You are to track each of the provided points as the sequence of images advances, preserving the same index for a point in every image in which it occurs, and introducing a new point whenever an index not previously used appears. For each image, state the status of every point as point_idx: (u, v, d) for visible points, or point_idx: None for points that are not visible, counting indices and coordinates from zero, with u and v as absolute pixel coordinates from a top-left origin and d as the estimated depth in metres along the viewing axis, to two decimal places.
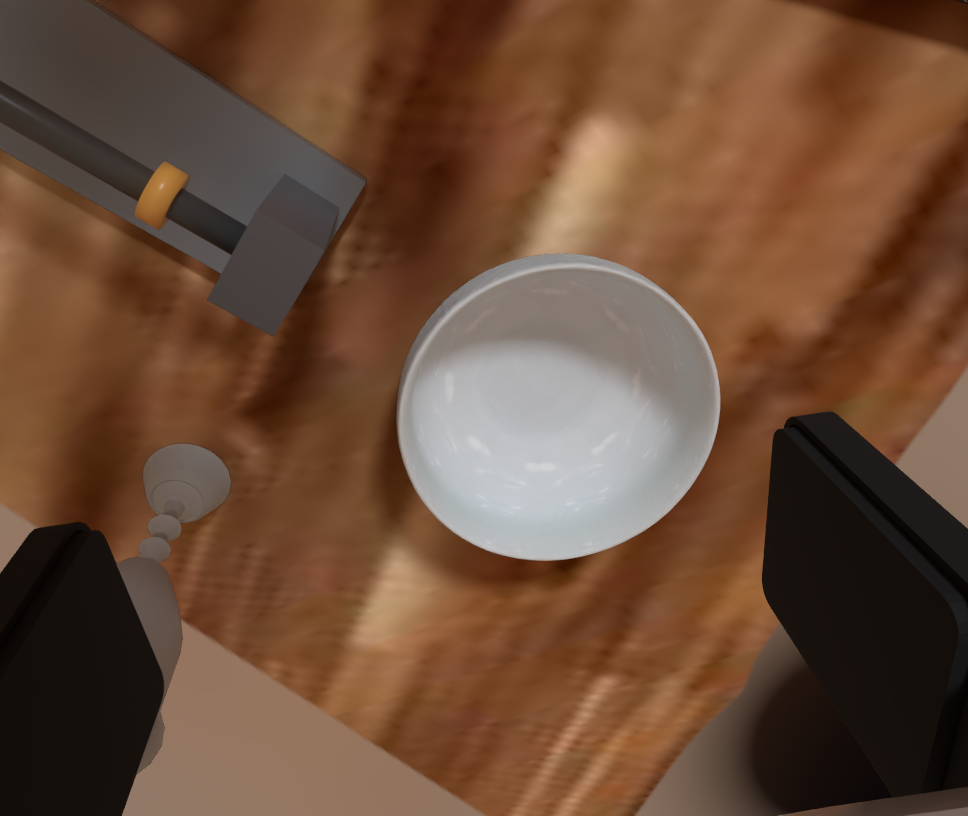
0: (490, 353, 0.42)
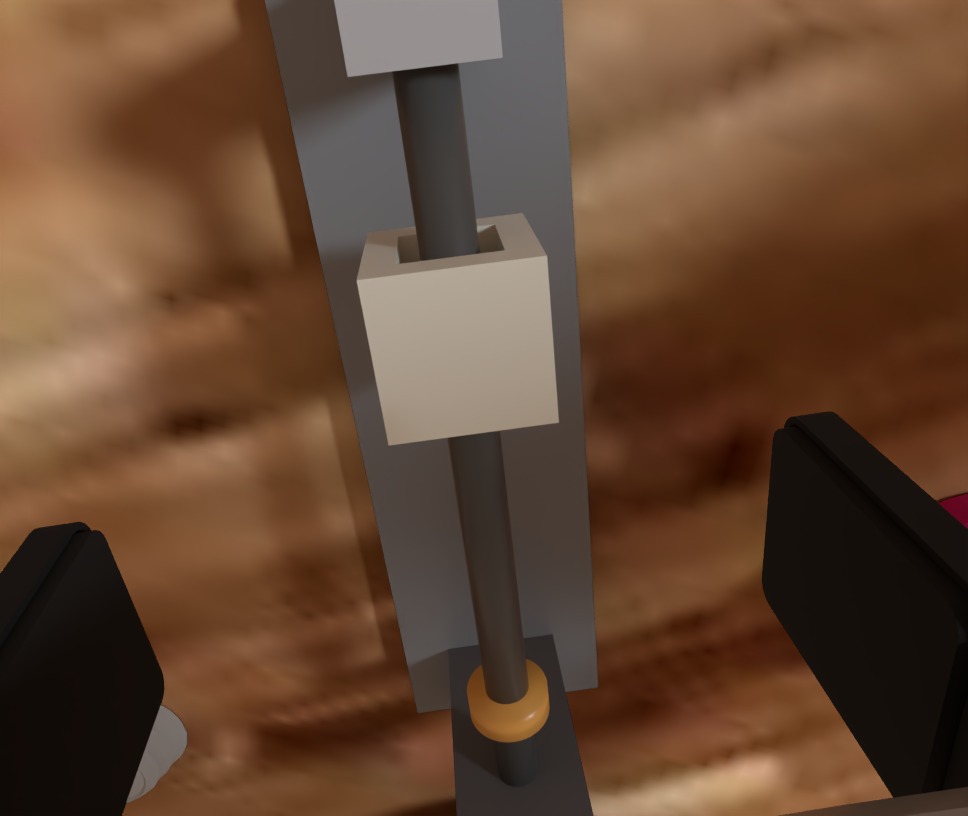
0: None
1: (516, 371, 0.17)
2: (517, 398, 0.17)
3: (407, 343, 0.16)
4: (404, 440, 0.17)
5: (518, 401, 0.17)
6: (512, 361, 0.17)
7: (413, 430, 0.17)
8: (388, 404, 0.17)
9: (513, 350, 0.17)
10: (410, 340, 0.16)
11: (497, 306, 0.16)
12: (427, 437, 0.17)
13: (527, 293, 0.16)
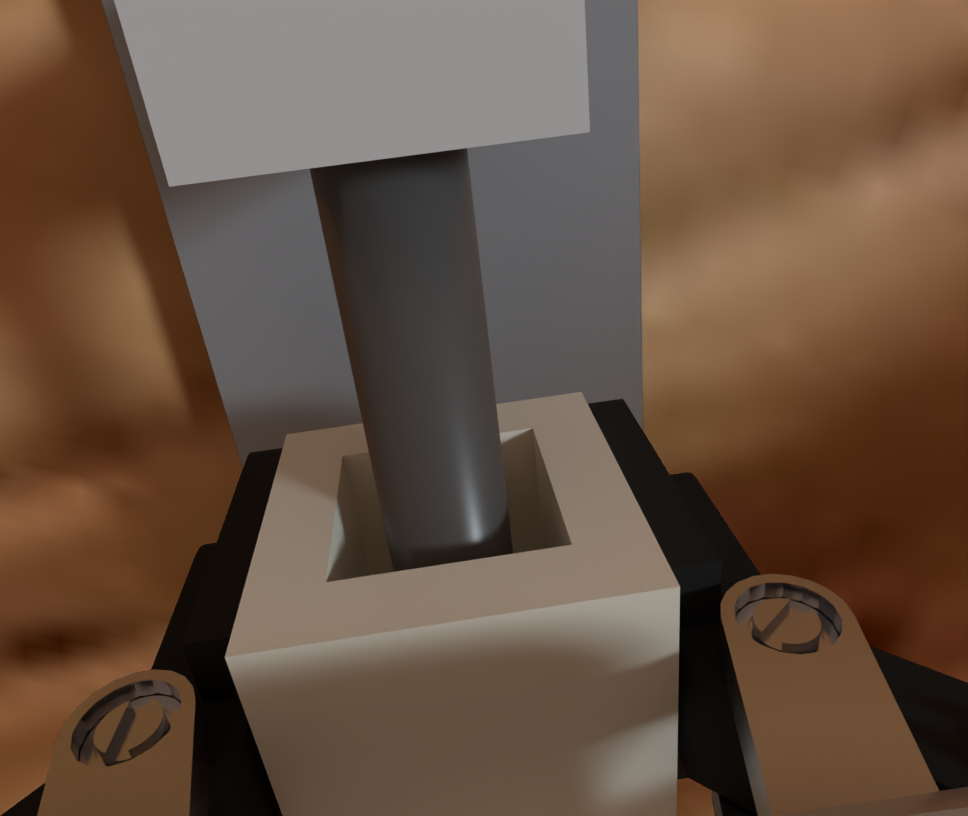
0: None
1: (594, 790, 0.08)
2: None
3: (353, 761, 0.07)
4: None
5: None
6: (586, 775, 0.08)
7: None
8: None
9: (590, 757, 0.07)
10: (360, 756, 0.07)
11: (559, 685, 0.07)
12: None
13: (628, 658, 0.07)
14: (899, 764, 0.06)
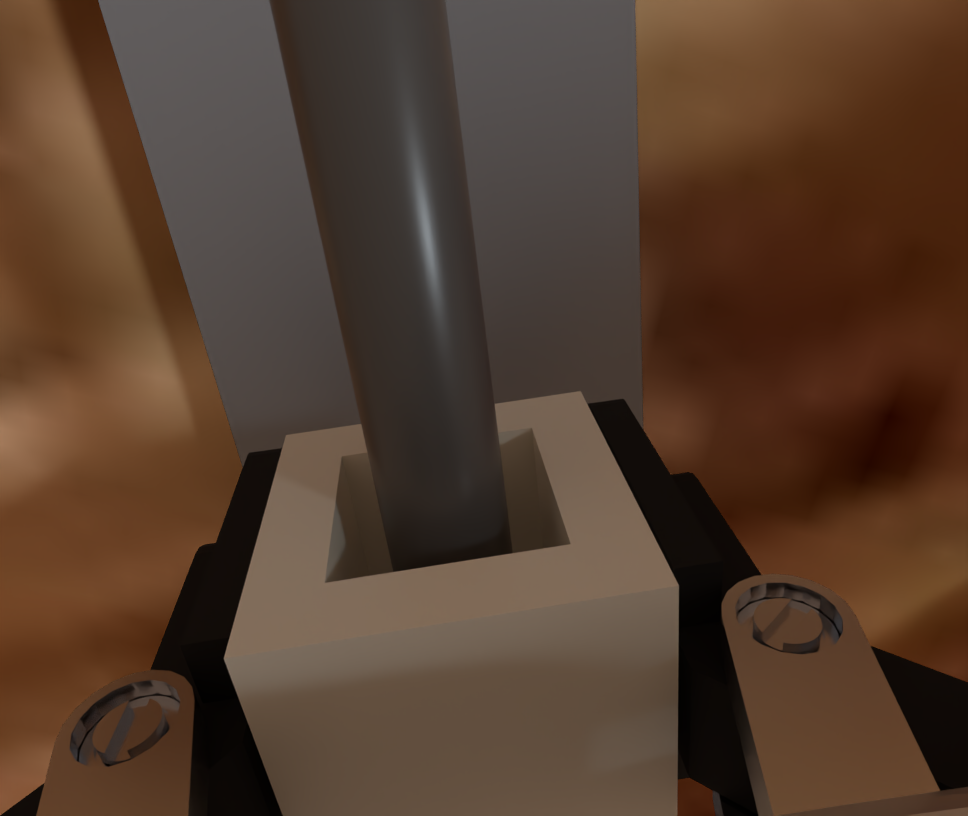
0: None
1: (594, 790, 0.08)
2: None
3: (353, 762, 0.07)
4: None
5: None
6: (587, 774, 0.08)
7: None
8: None
9: (590, 756, 0.07)
10: (360, 756, 0.07)
11: (558, 685, 0.07)
12: None
13: (628, 658, 0.07)
14: (900, 764, 0.06)
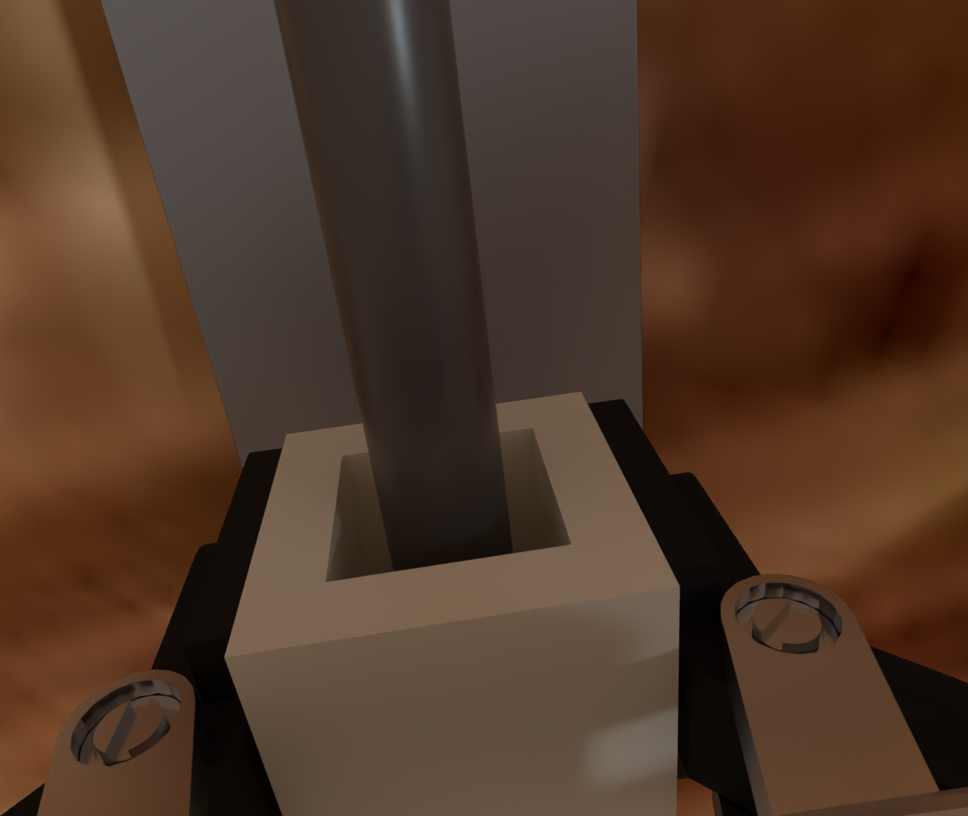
0: None
1: (594, 790, 0.08)
2: None
3: (353, 761, 0.07)
4: None
5: None
6: (586, 775, 0.08)
7: None
8: None
9: (590, 757, 0.07)
10: (360, 756, 0.07)
11: (559, 685, 0.07)
12: None
13: (628, 659, 0.07)
14: (899, 764, 0.06)
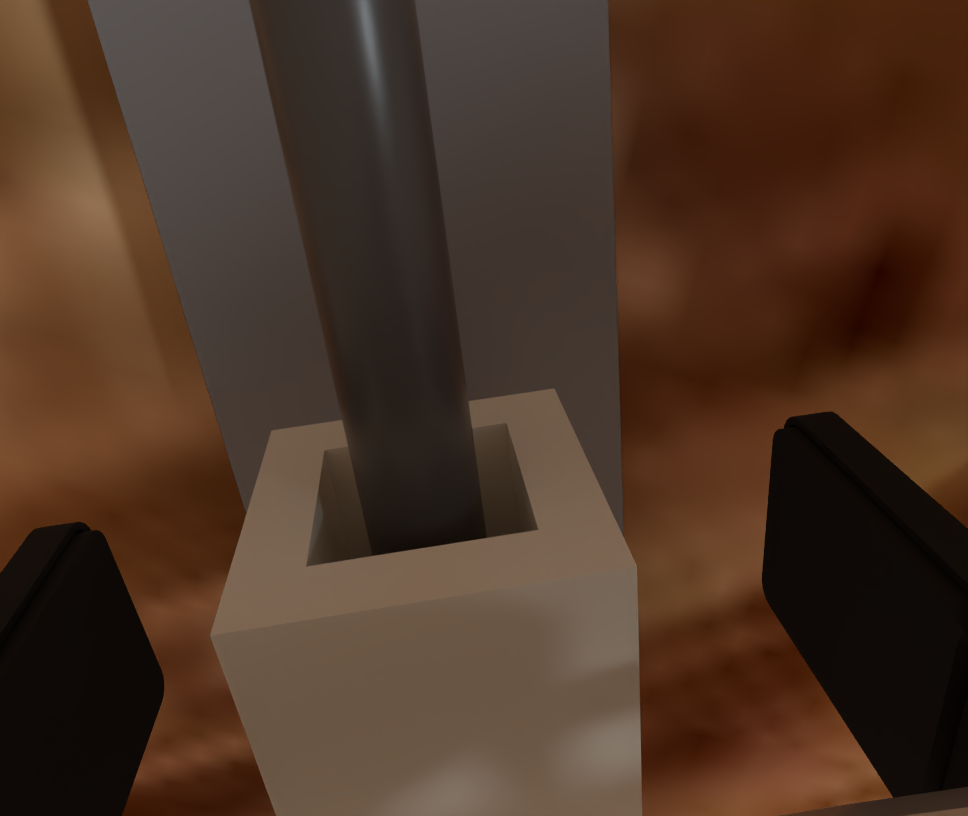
0: None
1: (562, 763, 0.08)
2: (563, 804, 0.08)
3: (333, 736, 0.08)
4: None
5: (564, 808, 0.08)
6: (555, 748, 0.08)
7: None
8: None
9: (557, 731, 0.08)
10: (339, 730, 0.08)
11: (526, 661, 0.07)
12: None
13: (591, 636, 0.07)
14: None
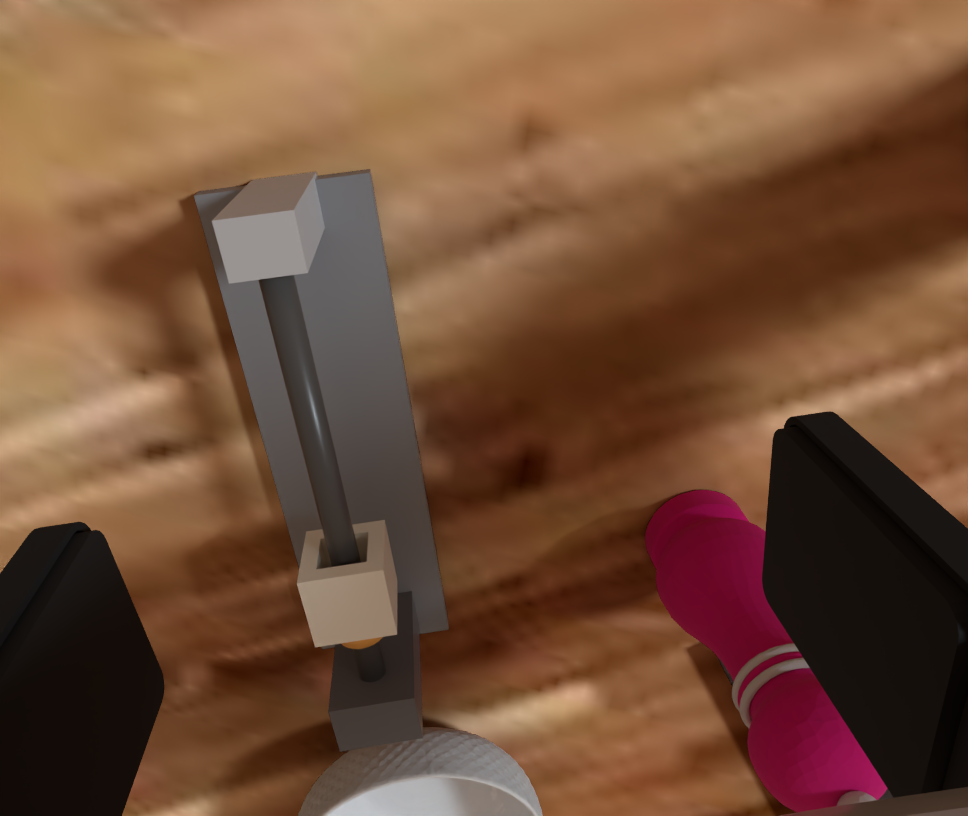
0: None
1: (374, 614, 0.36)
2: (375, 625, 0.36)
3: (321, 606, 0.35)
4: (322, 644, 0.36)
5: (376, 626, 0.36)
6: (371, 611, 0.36)
7: (326, 640, 0.36)
8: (314, 630, 0.36)
9: (371, 606, 0.35)
10: (322, 604, 0.35)
11: (362, 590, 0.35)
12: (333, 643, 0.36)
13: (376, 584, 0.35)
14: None
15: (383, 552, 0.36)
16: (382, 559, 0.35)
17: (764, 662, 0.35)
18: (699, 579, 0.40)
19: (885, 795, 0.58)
